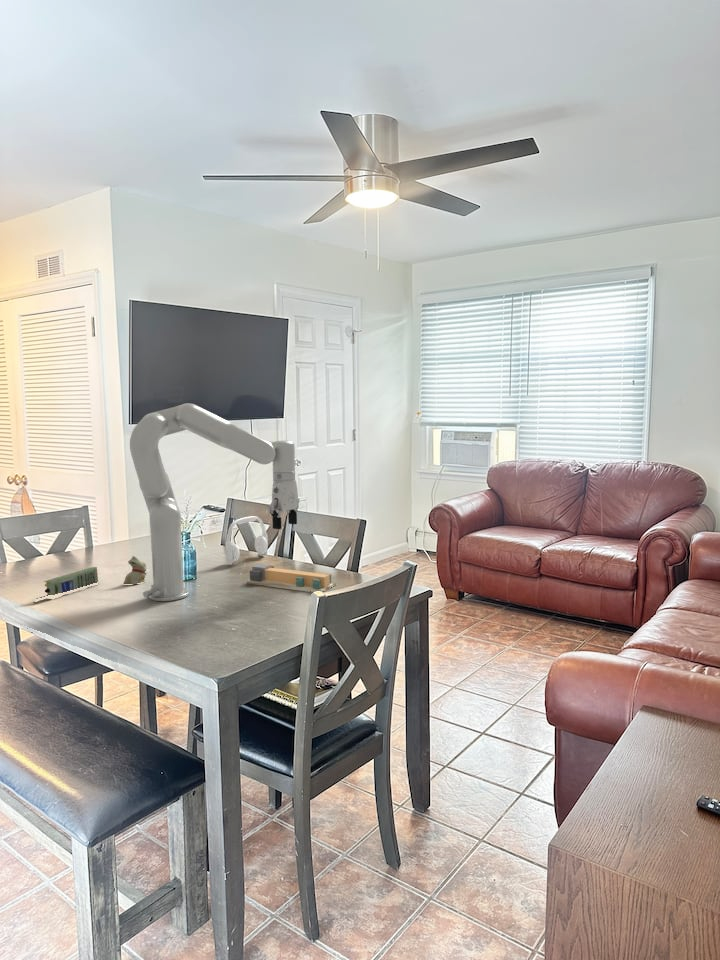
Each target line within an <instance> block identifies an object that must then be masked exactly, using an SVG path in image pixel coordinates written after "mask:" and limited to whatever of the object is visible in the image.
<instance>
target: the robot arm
mask: <svg viewBox="0 0 720 960" xmlns="http://www.w3.org/2000/svg"><path fill="white" fill-rule="evenodd" d="M186 430H187V431H189V432H190V433H193V434H195V435H197V436H199V437H201V438H203V439H205V440H207V441H209V442H211V443H213V444H216V445H217V446H220V447H221V448H225V449H228V450H230V451H232V452H235V453H237V454H238V455H241V456H244V457H245V458H248V459H250V460H251V461H254V462H255V463H257V464H260V465H268V464H271V463H272V488H271V489H272V490H271V491H272V492H271V503H270V504H269V505H268V510H269V513H270V515H271V518H272V529H273V530H282V517H281V516H282V513H283V512H288V513H287V516H288V517H287V519H288V520H287V521H288V525H297V524H298V509H299V505H300V504H299V503H300V498H299V494H298V493H299V492H298V485H297V481H296V459H295V458H296V457H295V453H296V452H295V451H296V450H295V443H294V441H291V440H275V441H272V440H271V441H267V440H264V439H263V438H261V437H258V436H256V435H254V434H252V433H250V432H248V431H247V430H245V429H242V428H241V427H239V426H238V425H236V424H235V423H232V422H231V421H229V420H227V419H226V418H222V417H221V416H218V415H217V414H216V413H213V412H211V411H209V410H207V409H205V408H203V407H201V406H199V405H197V404H195V403H191V402H189V403H188V402H186V403H182V404H180V405H175V406H174V407H173V406H172V407H169V408H166V409H160V410H157V411H154V412H150V413H146V414H145V415H144V416H143V417H142V418H141V420H140V421H139V422H138V423H136V425H135V427H134V428H133V429H132V432H131V434H130V439H129V450H130V455H131V459H132V461H133V465H134V469H135V472H136V476H137V479H138V484H139V488H140V491H141V493H142V496H143V499H144V502H145V505H146V508H147V510H148V514H149V515H148V516H149V528H150V529H149V530H150V549H151V562H152V563H151V564H152V580H153V581H152V582H153V584H152V585H151V586H150V587H151V588H150V589H148V590H146V591H145V590H144V591H143V593H142V596H143V597H144V598H149V599H150V600H152V601H156V602H171V601H178V600H181V599H184V598H186V597H187V596H189V589H187V588H185V587H184V585H185V584H184V566H183V564H184V563H183V547H182V546H183V545H182V544H183V543H182V515H181V510H180V508H179V505H178V503H177V500H176V498H175V493H174V491H173V487H172V484H171V481H170V477H169V475H168V473H167V472H166V470H165V467H164V463H163V460H162V456H161V453H160V450H159V443H160V442H159V441H160V440H161V439H162V438H164V437H165V436H169V435H173V434H176V433H181V432H183V431H186Z"/></svg>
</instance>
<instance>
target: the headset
mask: <svg viewBox="0 0 720 960" xmlns="http://www.w3.org/2000/svg"><path fill="white" fill-rule="evenodd" d="M256 520H257V522H259V524H260V527H261V531H262V533H261V535H259V536H256V538H255V540H254V549H255V551H256V552H257V556H261V557H262V556H266V555H268V548H269V547H268V546H269V544H268V542H269V541H268V534H267V530H266V526H265V524H264V521H263V520H262V519H261V518H260V517H259V516H255V515H252V516H245V517H241V518H237V519H235V520H234V521H232V522H231V524H230V525H229V528H228V531H227V533H226V539H225V542H224V543H225V545H224V547H225V555H226V564H227V565H228V566H230V565H233V563H234V562H237V561H238V560H239V558H240V548H239V546H238V545H237V544H236V543H235V542H231V538H232V537H231V536H232V533H233V532H232V531H233V529H234V527H235V526H236V525H242V524H247V523H250V522H255V521H256Z"/></svg>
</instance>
